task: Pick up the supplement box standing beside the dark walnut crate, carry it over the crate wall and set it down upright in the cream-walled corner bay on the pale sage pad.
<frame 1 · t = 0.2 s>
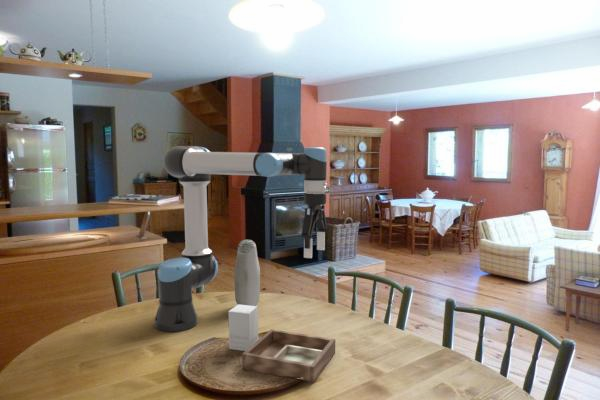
hand: (314, 253, 158), 28 cm above the table, fingers open, 13 cm apart
supplement box: (243, 346, 147), on the table
crate: (290, 360, 137), on the table
grey rounded cylinder: (247, 308, 184), on the table
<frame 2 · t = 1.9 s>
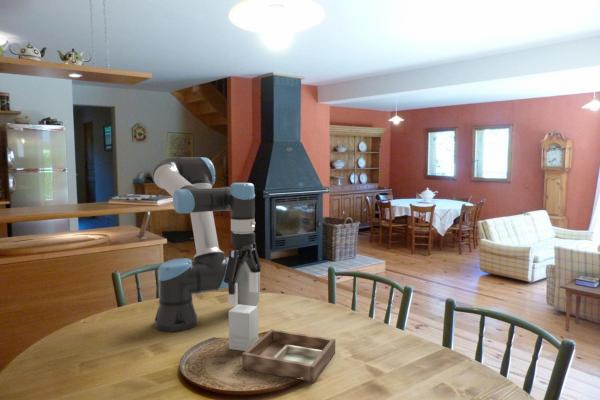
hand: (243, 297, 145), 16 cm above the table, fingers open, 13 cm apart
nothing on the table moved.
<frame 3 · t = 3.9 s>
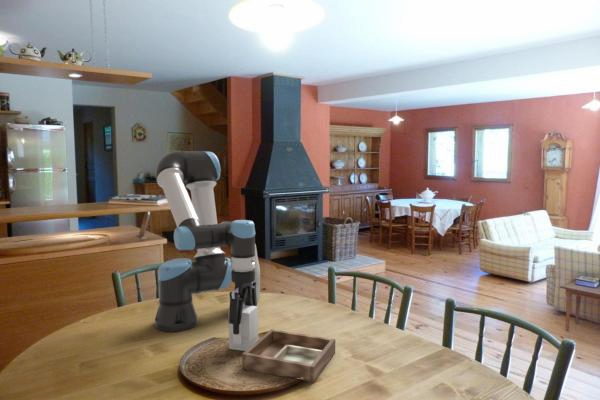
hand: (243, 338, 147), 3 cm above the table, fingers closed on supplement box, 7 cm apart
supplement box: (243, 346, 147), on the table, touching gripper
everything else where it was.
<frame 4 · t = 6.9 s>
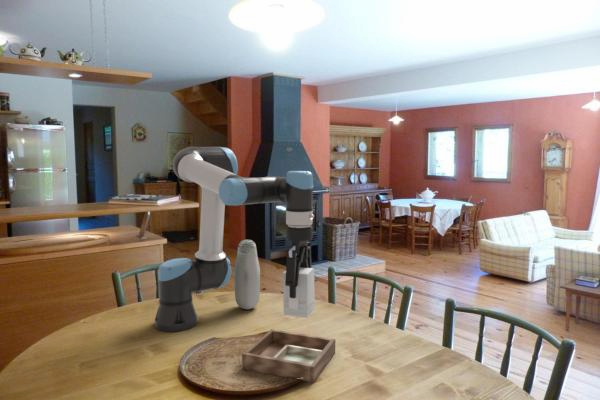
hand: (299, 303, 131), 19 cm above the table, fingers closed on supplement box, 7 cm apart
supplement box: (299, 313, 132), point 16 cm above the table, touching gripper
everything else where it was.
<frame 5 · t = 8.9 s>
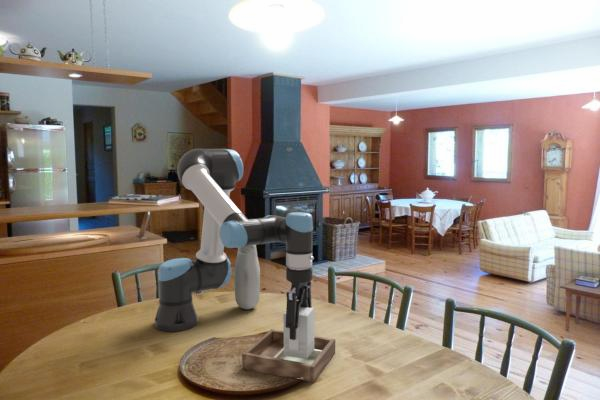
hand: (299, 343, 132), 7 cm above the table, fingers closed on supplement box, 7 cm apart
supplement box: (299, 353, 133), point 4 cm above the table, touching gripper
everything else where it was.
when the fingers open (6 cm above the table, at t = 10.1 s): supplement box drops 2 cm, resting on crate.
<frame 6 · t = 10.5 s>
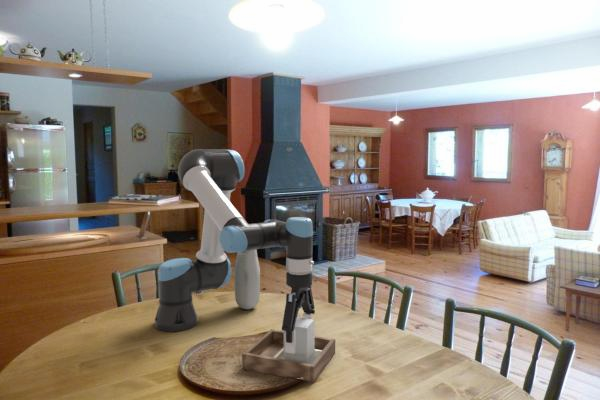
hand: (299, 343, 132), 7 cm above the table, fingers open, 13 cm apart
supplement box: (299, 364, 133), point 1 cm above the table, touching crate
everything else where it was.
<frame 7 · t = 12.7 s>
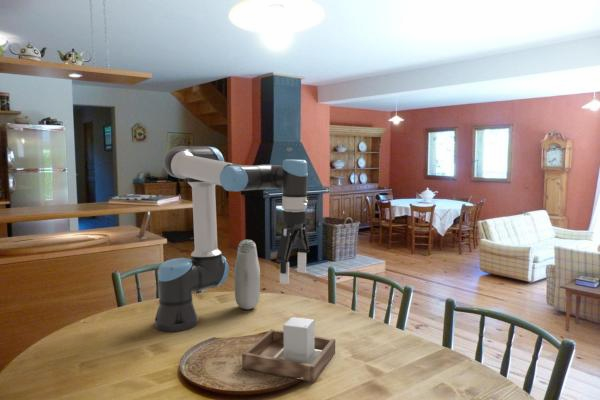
hand: (293, 277, 142), 24 cm above the table, fingers open, 13 cm apart
nothing on the table moved.
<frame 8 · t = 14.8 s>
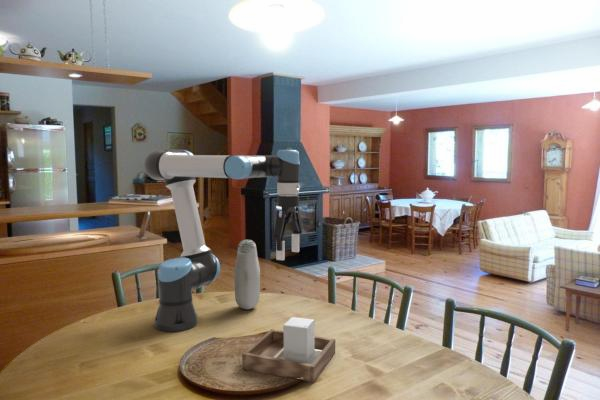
hand: (288, 255, 158), 27 cm above the table, fingers open, 13 cm apart
nothing on the table moved.
at the end: supplement box inside the target area on the crate (0.4 cm from its centre), point 0.6 cm above the crate's base; supplement box tilted 0°; the gripper is holding nothing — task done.
